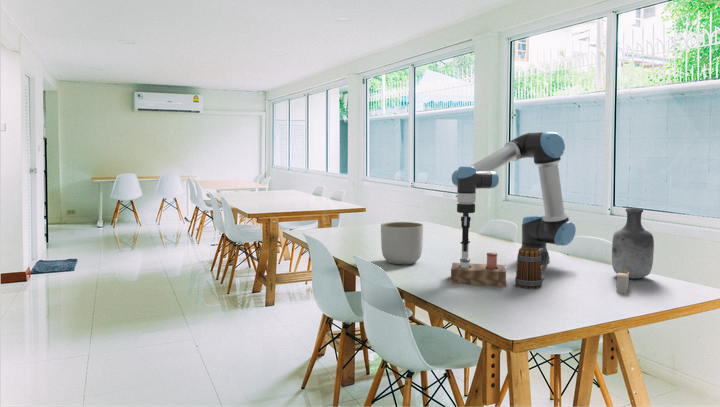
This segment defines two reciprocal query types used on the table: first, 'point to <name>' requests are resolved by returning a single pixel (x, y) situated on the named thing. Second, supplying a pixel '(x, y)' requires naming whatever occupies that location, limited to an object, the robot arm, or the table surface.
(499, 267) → the socket block
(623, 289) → the model
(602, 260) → the table surface
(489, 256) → the plug red
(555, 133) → the robot arm
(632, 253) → the vase
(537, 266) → the mug
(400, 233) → the planter
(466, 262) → the plug grey
